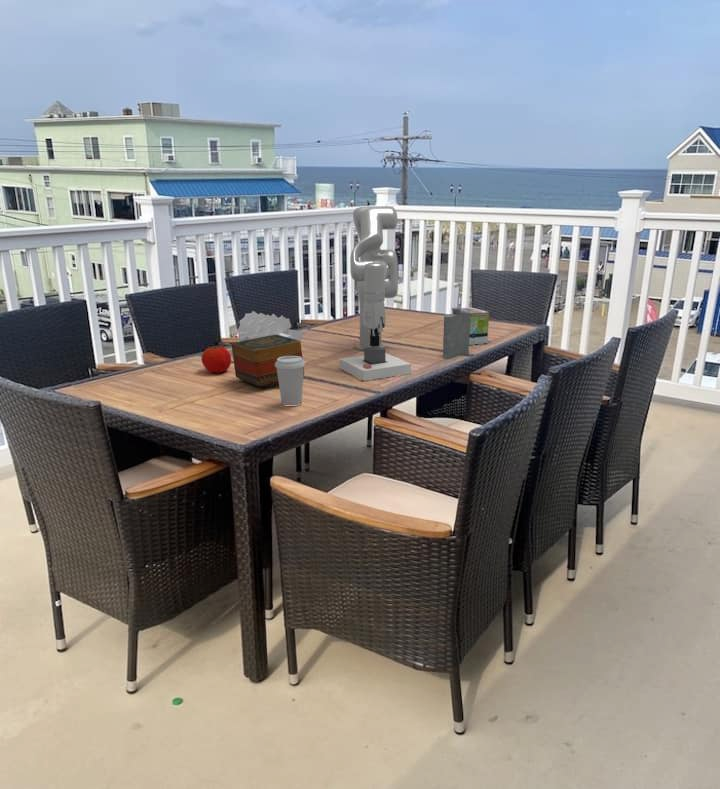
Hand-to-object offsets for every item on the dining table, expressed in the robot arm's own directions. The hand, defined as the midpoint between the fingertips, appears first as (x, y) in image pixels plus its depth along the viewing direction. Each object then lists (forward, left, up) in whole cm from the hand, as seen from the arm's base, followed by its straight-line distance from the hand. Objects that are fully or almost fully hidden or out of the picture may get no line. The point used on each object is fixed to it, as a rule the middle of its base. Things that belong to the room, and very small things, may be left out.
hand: (374, 345), depth 230 cm
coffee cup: (+21, -42, -10) cm, 48 cm away
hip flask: (-6, +42, -10) cm, 43 cm away
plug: (0, 0, -9) cm, 9 cm away
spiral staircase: (-46, -26, -10) cm, 54 cm away
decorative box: (-7, -40, -10) cm, 42 cm away
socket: (0, 0, -10) cm, 10 cm away
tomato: (-30, -53, -10) cm, 62 cm away
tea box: (-24, +63, -10) cm, 68 cm away
